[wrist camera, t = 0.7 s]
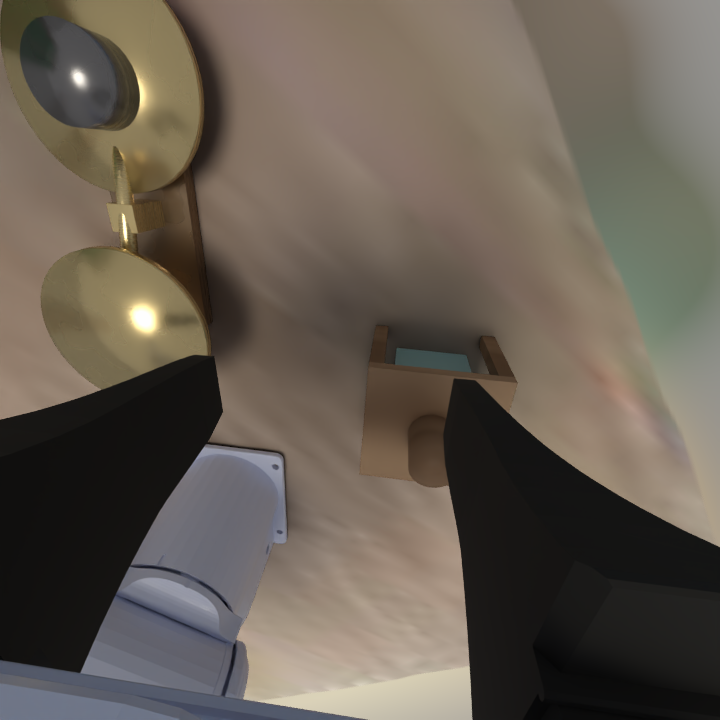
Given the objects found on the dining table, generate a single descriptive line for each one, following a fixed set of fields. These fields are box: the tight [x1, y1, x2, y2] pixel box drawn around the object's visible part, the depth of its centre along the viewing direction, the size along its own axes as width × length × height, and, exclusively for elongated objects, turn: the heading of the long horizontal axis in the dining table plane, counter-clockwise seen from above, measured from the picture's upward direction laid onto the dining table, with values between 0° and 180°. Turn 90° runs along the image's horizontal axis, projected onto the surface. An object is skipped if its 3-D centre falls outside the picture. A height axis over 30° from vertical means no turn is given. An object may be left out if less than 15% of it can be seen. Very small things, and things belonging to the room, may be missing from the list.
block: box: [395, 348, 472, 373], centre depth 21 cm, size 4×4×4 cm
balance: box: [0, 0, 213, 390], centre depth 17 cm, size 18×8×5 cm, turn 176°
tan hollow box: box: [360, 325, 518, 488], centre depth 19 cm, size 7×7×7 cm
